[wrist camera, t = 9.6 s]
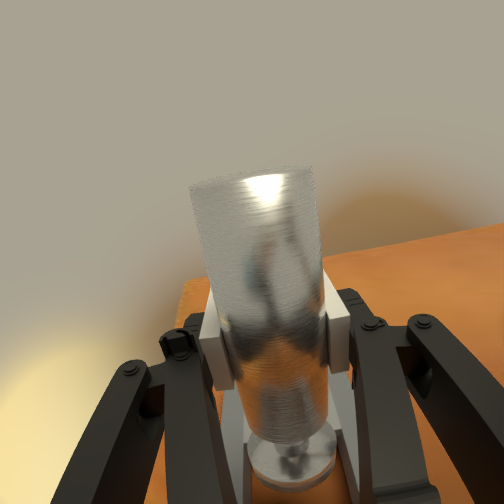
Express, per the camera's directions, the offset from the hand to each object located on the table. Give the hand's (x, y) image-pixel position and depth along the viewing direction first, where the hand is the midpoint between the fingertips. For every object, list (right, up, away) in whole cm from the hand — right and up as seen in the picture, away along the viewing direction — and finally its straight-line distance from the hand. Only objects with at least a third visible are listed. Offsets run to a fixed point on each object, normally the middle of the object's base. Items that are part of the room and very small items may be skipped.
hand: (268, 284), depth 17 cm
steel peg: (+2, -11, -2) cm, 11 cm away
